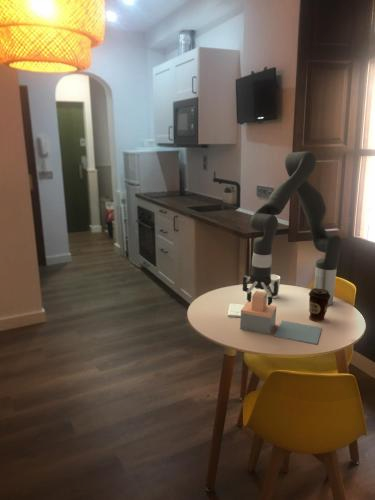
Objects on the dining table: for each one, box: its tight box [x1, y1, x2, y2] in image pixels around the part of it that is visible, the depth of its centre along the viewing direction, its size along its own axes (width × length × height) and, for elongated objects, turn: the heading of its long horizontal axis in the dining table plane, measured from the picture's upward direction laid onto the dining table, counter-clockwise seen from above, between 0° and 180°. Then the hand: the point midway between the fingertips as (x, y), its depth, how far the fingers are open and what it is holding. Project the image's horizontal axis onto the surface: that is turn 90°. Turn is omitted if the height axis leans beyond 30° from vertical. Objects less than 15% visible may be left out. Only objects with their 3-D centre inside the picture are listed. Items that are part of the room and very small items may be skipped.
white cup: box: [263, 273, 281, 299], centre depth 200 cm, size 8×8×10 cm
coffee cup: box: [308, 287, 330, 323], centre depth 174 cm, size 9×8×13 cm
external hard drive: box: [227, 303, 245, 319], centre depth 183 cm, size 2×8×12 cm
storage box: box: [239, 309, 277, 336], centre depth 167 cm, size 10×12×7 cm
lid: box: [241, 290, 277, 318], centre depth 166 cm, size 10×12×8 cm
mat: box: [273, 320, 322, 346], centre depth 164 cm, size 15×16×1 cm
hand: (259, 302), depth 165 cm, fingers open, 7 cm apart
